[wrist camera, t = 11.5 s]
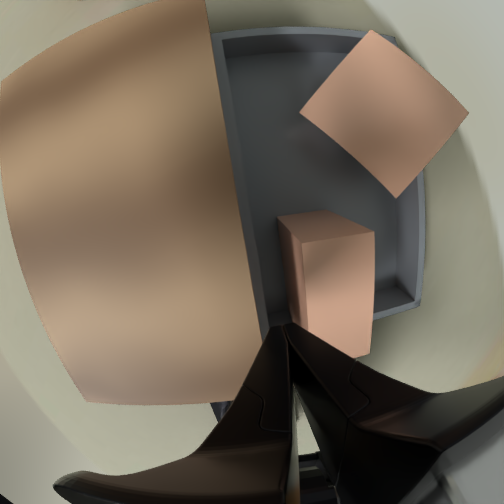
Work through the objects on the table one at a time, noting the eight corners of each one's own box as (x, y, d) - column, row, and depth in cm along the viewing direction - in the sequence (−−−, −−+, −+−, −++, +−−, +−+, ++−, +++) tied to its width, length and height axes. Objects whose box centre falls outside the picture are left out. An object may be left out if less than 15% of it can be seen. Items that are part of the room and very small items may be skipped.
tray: (398, 288, 18) (419, 305, 15) (258, 319, 18) (263, 345, 15) (373, 52, 13) (394, 36, 10) (214, 55, 13) (210, 33, 10)
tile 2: (299, 112, 11) (310, 120, 14) (396, 198, 11) (390, 190, 14) (370, 29, 8) (370, 50, 11) (469, 112, 8) (451, 119, 11)
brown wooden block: (258, 319, 18) (271, 394, 11) (122, 336, 18) (86, 401, 11) (214, 55, 13) (203, -10, 6) (69, 102, 13) (1, 81, 6)
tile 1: (287, 309, 17) (331, 300, 17) (310, 368, 11) (369, 353, 12) (276, 216, 15) (326, 209, 16) (301, 243, 10) (374, 231, 10)
